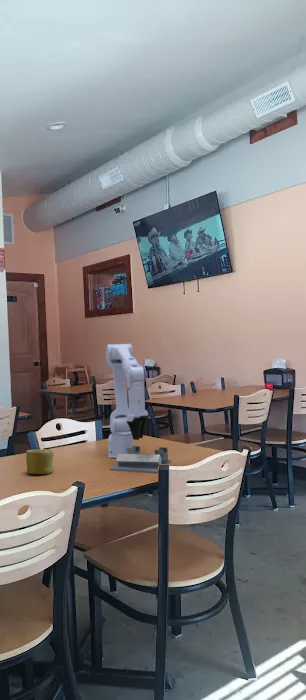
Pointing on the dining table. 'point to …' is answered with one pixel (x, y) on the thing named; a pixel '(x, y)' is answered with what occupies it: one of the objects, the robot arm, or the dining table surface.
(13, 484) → the dining table surface
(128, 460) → the rail
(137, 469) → the mat
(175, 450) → the dining table surface
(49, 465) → the mug
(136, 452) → the rack
